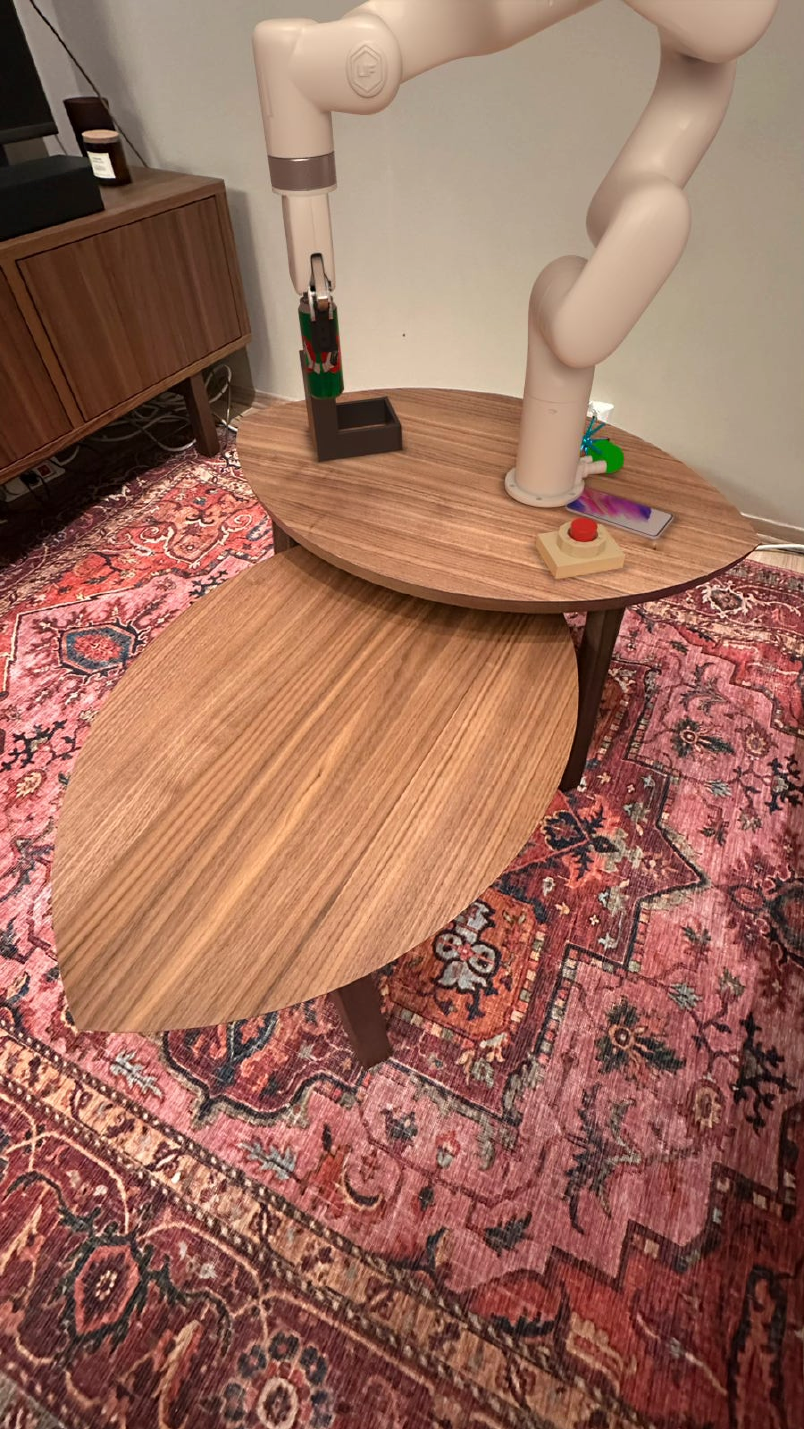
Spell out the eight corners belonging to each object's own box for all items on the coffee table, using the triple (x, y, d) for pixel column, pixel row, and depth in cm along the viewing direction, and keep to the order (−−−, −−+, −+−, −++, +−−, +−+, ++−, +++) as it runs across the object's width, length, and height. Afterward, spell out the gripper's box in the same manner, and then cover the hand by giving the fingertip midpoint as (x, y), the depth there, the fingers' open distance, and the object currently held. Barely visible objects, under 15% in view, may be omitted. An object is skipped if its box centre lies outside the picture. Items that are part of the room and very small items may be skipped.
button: (589, 526, 96) (591, 515, 95) (599, 541, 94) (602, 530, 93) (565, 530, 96) (566, 519, 95) (575, 545, 94) (577, 534, 92)
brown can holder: (388, 420, 127) (384, 340, 117) (402, 450, 120) (399, 366, 109) (309, 431, 125) (298, 350, 115) (318, 461, 118) (308, 378, 107)
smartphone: (656, 538, 99) (563, 507, 106) (655, 543, 100) (563, 512, 106) (676, 514, 103) (585, 485, 109) (674, 519, 104) (584, 490, 110)
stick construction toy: (548, 446, 114) (578, 403, 111) (558, 453, 121) (587, 412, 117) (604, 487, 112) (636, 445, 108) (611, 493, 118) (642, 452, 114)
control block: (599, 536, 101) (604, 512, 98) (622, 568, 96) (629, 543, 93) (534, 546, 100) (538, 522, 97) (555, 579, 94) (559, 555, 91)
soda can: (347, 386, 98) (339, 292, 89) (341, 402, 95) (332, 305, 86) (312, 385, 98) (301, 292, 89) (305, 401, 95) (292, 305, 86)
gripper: (263, 161, 83) (286, 324, 97) (277, 193, 72) (301, 372, 85) (324, 156, 84) (339, 318, 98) (348, 187, 73) (360, 365, 86)
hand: (321, 342), depth 91 cm, fingers closed on soda can, 5 cm apart
